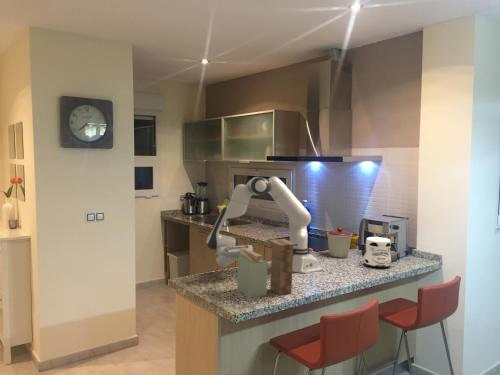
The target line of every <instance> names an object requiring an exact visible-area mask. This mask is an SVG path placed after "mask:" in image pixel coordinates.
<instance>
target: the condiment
mask: <svg viewBox="0 0 500 375" xmlns="http://www.w3.org/2000/svg"><path fill="white" fill-rule="evenodd" d="M351 234H352V236H351V242H350V248H349V250H352V249H357V248H359V247H358V245H359V244H358V243H359V237H358V233H354V232H353V233H351ZM357 250H358V249H357Z"/></svg>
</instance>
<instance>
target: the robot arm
mask: <svg viewBox="0 0 500 375" xmlns="http://www.w3.org/2000/svg"><path fill="white" fill-rule="evenodd" d="M266 193H268V194H269V195H270V197H271V198H272V199H273V200H274V202H276V204H277V205H278V206H279V207H280V208H281V210H282V211H283V212H284V213H285V214H286V215H287V216H288V224H289V227H288V228H289V241H291V242H293V243H296V244H297V246H293V267H292V273H300V274H301V273H302V274H309V273H315V272H319V271H322V269H323V268H322V267H321V266H319V262H318V258H316V257H315V256H313V255H312V254H311V253H310V252H313V251H314V250H313V248H311V247H310V248H309V247H308V242H309V241H308V238H309V236H308V230H307V229H308V228H307V227H308V226H309V225H310V223H311V221H312V216H311V213H310V212H309V211H308V209H306V207H305V206H304V205H303V204H302V203H301V201H300V200H298V198H297V197H296V196H295V195H294V194H293V192H292V191H291V190H290V189H289V188H288V187H287V185H286V184H285V183H284V181H282V180H281V179H280V178H279V177H278V176H271V177H269V178H266V177H262V176H254V177H252V178H250V179H249V180H248V181H247V182H246V183H245V184H243V183H241V184H237V185H236V186H235V187H234V190H233V191H232V194H231V196H230V200H229V202H228V204H227V206H226V207H225V206H224V207H222V209H221V211H220V212H219V215H218V217H217V218H216V221H215V222H214V225H213V226H212V229H211V231H210V233H209V235H208V236H207V238H206V242H205V244H206V245H207V246H206V247H208V248H209V250H212V251H216V252H215V254H214V255H215V256H217V257H216V264H217V265H218V266H219V267H221V268H226V267H229V266H230V265H231V264H233V263H234V262H237V261H238V257H244V256H242V255H240V248H247V249H249V250H251V251H253V245H251V244H250V245H249V244H245V245H239V242H238V241H237V238H236V237H235V236H229V235H226V234H222V233H220V231H221V229H222V227H223V225H224V222H225V221H226V220H228V219H233V218H239V217H241V216H243V215H245V213H246V211H247V209H248V206H249V201H250V200H251V197H252V196H261V195H265V194H266ZM253 252H254V251H253Z"/></svg>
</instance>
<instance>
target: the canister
mask: <svg viewBox="0 0 500 375" xmlns="http://www.w3.org/2000/svg"><path fill="white" fill-rule="evenodd" d="M326 234H327V244H328V245H327V246H328V254H329V255H330V257H334V258H337V259H339V258H342V259H344V258H346V257H348V256H349V252H350V249H349V248H350V242H351V236H352V233H351V232H349V231H347V230H343V228H342V227H341V226H339V227H337V230H334V229H333V230H329V231H328V232H327V231H326Z"/></svg>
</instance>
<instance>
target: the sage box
mask: <svg viewBox="0 0 500 375" xmlns="http://www.w3.org/2000/svg"><path fill="white" fill-rule="evenodd" d="M236 284H237V285H236V287H237V288H236V289H237V290H238V291H239V292H241V294H243V295H245V297H248V298H255V297H263V296H267V288H268V287H267V284H268V261H266V260H265V259H263V258H262V263H255V262H253V261H251V260H249V259H248V258H246V257H238V260H237V283H236Z"/></svg>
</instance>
